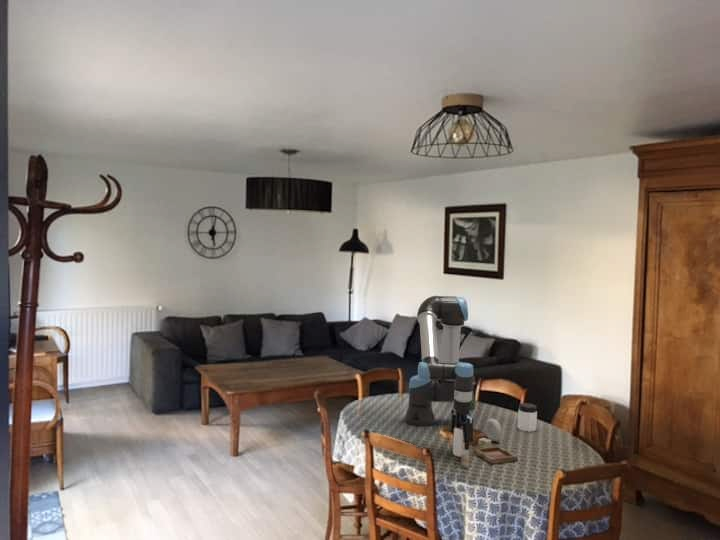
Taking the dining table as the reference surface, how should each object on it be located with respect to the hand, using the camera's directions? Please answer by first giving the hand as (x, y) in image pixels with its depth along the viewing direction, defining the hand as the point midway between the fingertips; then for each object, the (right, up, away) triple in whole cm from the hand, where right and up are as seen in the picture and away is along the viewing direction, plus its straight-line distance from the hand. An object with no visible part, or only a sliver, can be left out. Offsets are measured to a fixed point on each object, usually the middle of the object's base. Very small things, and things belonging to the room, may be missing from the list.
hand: (460, 453), depth 239 cm
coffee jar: (+16, +1, +75) cm, 77 cm away
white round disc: (+18, -1, +21) cm, 28 cm away
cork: (0, -1, -12) cm, 12 cm away
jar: (+40, -1, +39) cm, 56 cm away
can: (0, -1, 0) cm, 1 cm away
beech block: (+12, -1, +9) cm, 15 cm away
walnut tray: (+14, -1, -1) cm, 15 cm away
